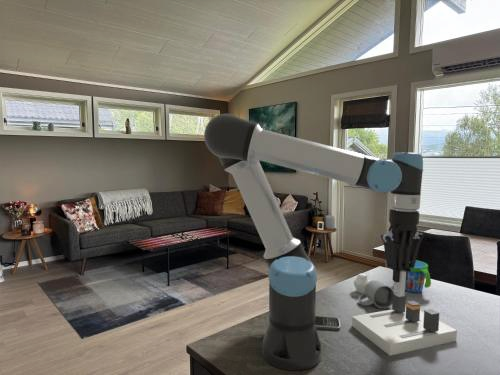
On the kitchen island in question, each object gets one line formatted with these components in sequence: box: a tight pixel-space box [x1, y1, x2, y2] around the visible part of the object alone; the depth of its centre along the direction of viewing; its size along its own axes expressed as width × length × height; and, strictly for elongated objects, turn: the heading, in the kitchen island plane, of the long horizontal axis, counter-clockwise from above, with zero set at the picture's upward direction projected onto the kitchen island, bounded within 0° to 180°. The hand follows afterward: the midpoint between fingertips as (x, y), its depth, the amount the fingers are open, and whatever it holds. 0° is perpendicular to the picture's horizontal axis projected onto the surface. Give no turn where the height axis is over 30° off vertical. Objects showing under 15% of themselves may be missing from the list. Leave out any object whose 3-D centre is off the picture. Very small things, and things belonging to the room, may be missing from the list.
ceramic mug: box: [357, 279, 395, 309], centre depth 117 cm, size 11×8×8 cm
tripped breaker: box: [405, 300, 421, 323], centre depth 99 cm, size 3×3×5 cm
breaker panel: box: [351, 306, 458, 356], centre depth 98 cm, size 22×16×3 cm
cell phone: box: [315, 315, 341, 331], centre depth 103 cm, size 6×11×1 cm, turn 81°
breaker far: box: [391, 292, 407, 313], centre depth 104 cm, size 2×3×5 cm
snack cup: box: [405, 259, 432, 293], centre depth 130 cm, size 16×10×10 cm
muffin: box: [353, 272, 371, 294], centre depth 128 cm, size 6×6×7 cm
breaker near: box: [423, 308, 440, 333], centre depth 93 cm, size 2×3×5 cm
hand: (398, 292), depth 97 cm, fingers closed
